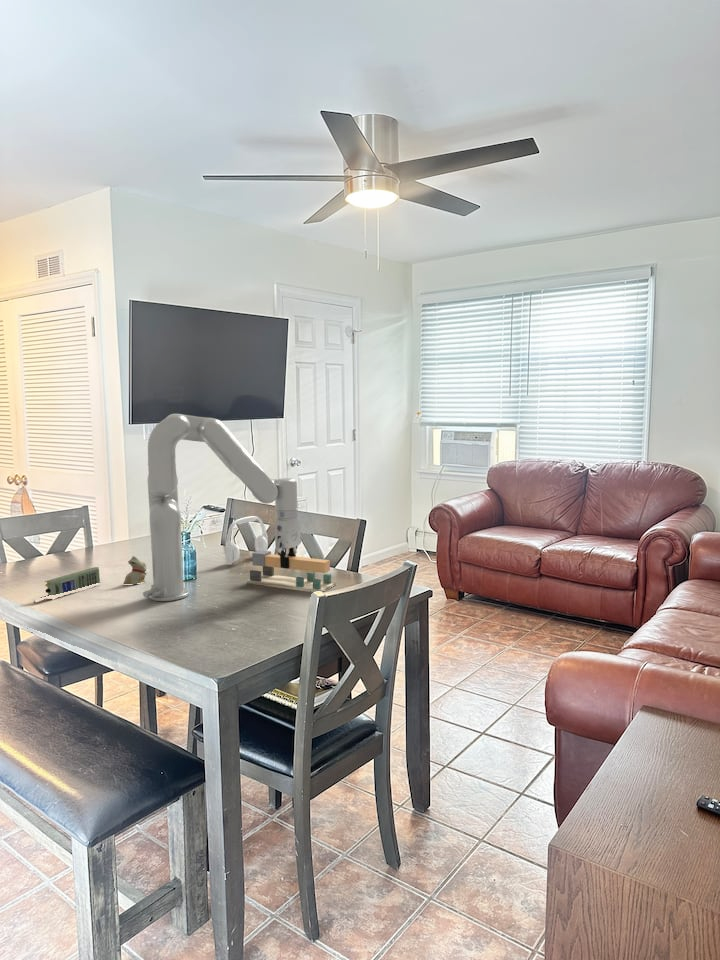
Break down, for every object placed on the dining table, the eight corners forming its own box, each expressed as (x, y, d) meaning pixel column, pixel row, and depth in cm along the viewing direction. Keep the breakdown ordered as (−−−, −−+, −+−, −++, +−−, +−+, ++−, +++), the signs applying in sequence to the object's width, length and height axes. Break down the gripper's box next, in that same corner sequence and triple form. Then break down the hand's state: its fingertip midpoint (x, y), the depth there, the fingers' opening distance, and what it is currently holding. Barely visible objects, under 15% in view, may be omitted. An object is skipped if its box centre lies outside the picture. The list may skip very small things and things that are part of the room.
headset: (233, 567, 254) (232, 521, 252) (221, 564, 258) (220, 519, 256) (271, 557, 269) (270, 514, 267) (259, 554, 274) (258, 512, 272)
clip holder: (321, 593, 218) (321, 580, 217) (246, 583, 231) (246, 571, 231) (335, 585, 227) (335, 573, 226) (263, 576, 240) (262, 564, 239)
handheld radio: (101, 585, 231) (38, 605, 209) (95, 585, 233) (31, 604, 211) (100, 567, 231) (36, 585, 209) (93, 566, 232) (29, 584, 210)
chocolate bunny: (147, 584, 232) (145, 556, 230) (123, 586, 229) (121, 558, 228) (147, 580, 237) (145, 553, 236) (123, 582, 235) (122, 554, 233)
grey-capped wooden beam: (324, 573, 220) (323, 560, 219) (252, 565, 233) (252, 552, 232) (330, 570, 224) (330, 557, 223) (259, 562, 237) (259, 550, 236)
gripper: (282, 519, 217) (284, 573, 220) (308, 511, 232) (309, 562, 234) (263, 517, 221) (265, 571, 223) (290, 509, 235) (292, 560, 238)
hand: (288, 566), depth 229 cm, fingers closed on grey-capped wooden beam, 3 cm apart
